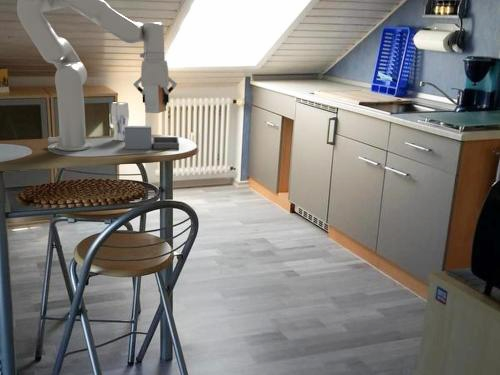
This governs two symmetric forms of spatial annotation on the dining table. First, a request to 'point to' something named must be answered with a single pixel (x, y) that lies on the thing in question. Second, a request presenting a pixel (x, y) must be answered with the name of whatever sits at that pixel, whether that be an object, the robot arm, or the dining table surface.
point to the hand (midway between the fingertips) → (155, 104)
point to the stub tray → (165, 143)
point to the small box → (154, 99)
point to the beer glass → (119, 119)
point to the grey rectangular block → (138, 137)
